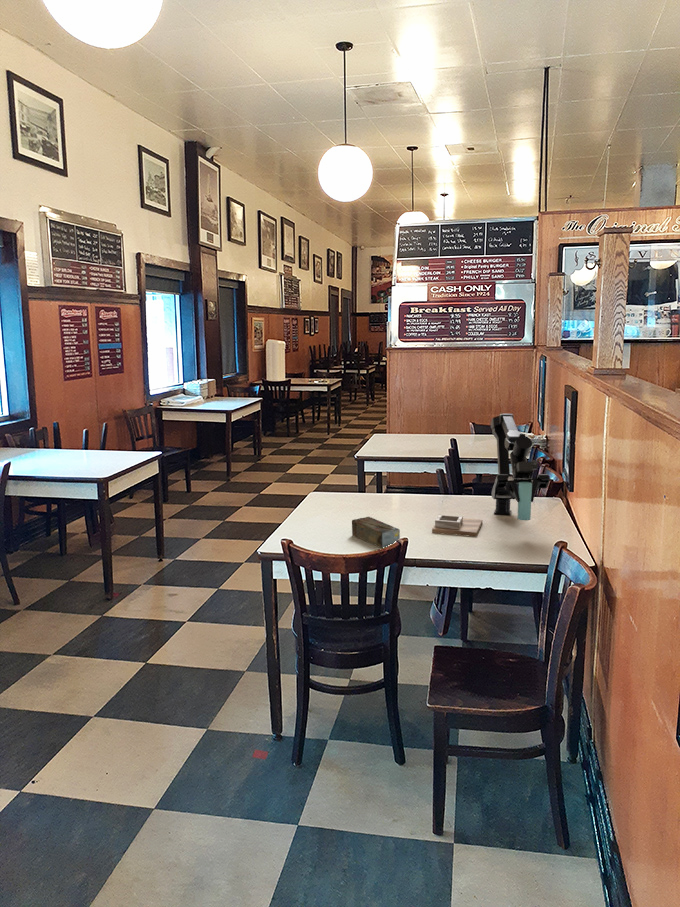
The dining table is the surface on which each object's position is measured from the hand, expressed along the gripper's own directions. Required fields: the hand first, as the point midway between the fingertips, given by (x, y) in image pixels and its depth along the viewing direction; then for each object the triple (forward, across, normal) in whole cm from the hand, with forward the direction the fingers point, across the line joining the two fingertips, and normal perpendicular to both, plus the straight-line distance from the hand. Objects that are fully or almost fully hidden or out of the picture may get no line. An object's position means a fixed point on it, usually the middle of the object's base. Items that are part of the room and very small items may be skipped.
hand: (525, 501), depth 245 cm
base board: (0, -21, +19) cm, 29 cm away
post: (+4, 0, +6) cm, 7 cm away
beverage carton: (+11, -53, +8) cm, 55 cm away
